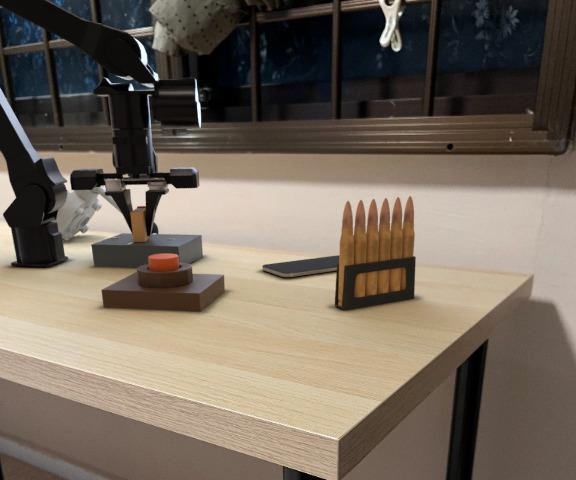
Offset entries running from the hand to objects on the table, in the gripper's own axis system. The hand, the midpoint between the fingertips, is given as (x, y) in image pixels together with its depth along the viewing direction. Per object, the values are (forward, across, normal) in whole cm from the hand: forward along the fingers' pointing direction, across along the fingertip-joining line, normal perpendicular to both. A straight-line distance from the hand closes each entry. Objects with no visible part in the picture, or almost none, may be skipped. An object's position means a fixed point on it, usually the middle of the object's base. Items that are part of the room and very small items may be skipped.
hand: (142, 236), depth 96 cm
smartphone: (+4, -27, +9) cm, 28 cm away
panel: (+4, -1, 0) cm, 4 cm away
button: (0, -7, +25) cm, 26 cm away
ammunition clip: (+4, -32, +29) cm, 43 cm away
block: (0, 0, 0) cm, 0 cm away
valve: (+4, +11, -22) cm, 25 cm away
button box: (+4, -6, +25) cm, 26 cm away
